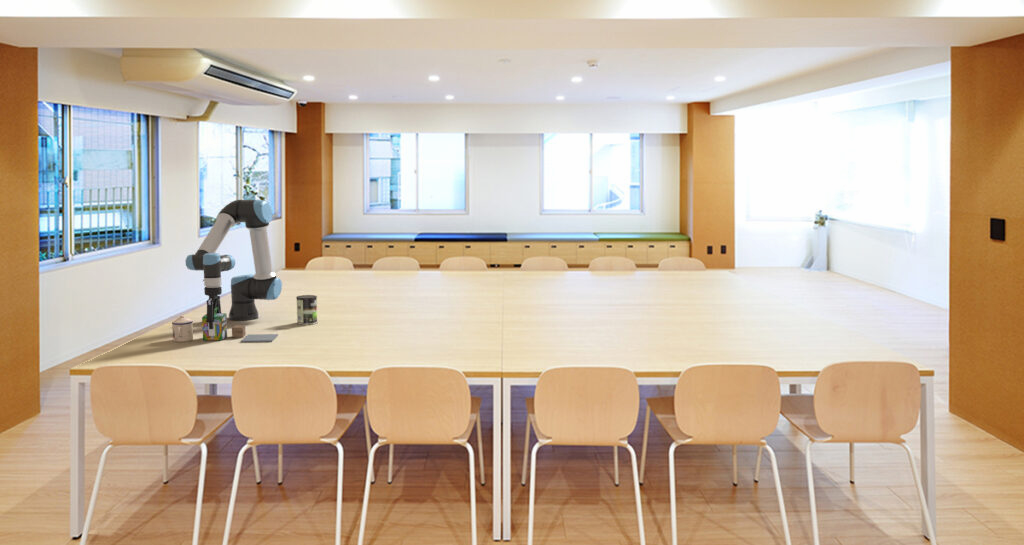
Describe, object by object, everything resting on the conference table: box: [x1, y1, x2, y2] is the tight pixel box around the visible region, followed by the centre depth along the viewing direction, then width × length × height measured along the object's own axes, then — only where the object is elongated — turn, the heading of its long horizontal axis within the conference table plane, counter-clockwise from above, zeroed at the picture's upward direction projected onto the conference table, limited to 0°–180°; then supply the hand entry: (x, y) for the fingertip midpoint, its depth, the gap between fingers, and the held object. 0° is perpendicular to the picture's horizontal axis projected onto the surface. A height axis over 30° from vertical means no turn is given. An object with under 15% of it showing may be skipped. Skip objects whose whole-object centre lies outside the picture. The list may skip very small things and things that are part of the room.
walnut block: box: [231, 325, 247, 338], centre depth 375 cm, size 5×5×5 cm
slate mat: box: [240, 333, 279, 343], centre depth 371 cm, size 14×14×1 cm
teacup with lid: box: [171, 314, 194, 343], centre depth 365 cm, size 12×9×12 cm
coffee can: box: [295, 294, 318, 326], centre depth 409 cm, size 10×10×14 cm
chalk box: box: [201, 308, 228, 341], centre depth 370 cm, size 9×9×15 cm
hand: (214, 333), depth 370 cm, fingers closed on chalk box, 9 cm apart
